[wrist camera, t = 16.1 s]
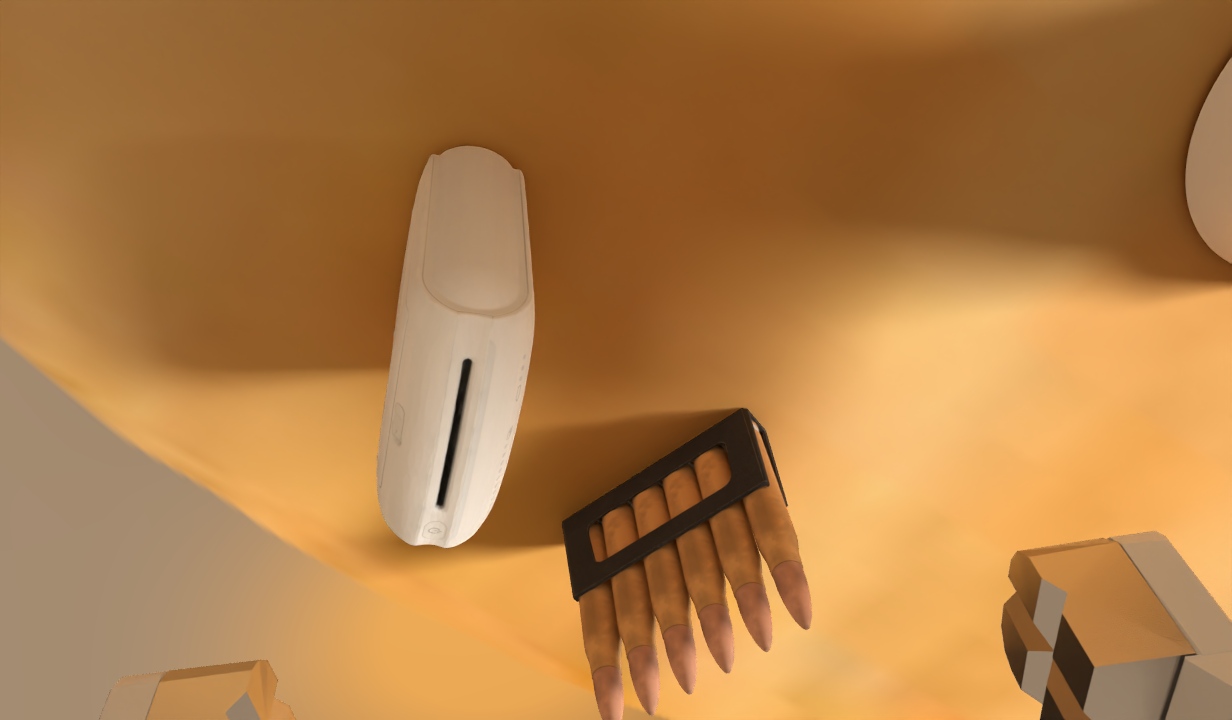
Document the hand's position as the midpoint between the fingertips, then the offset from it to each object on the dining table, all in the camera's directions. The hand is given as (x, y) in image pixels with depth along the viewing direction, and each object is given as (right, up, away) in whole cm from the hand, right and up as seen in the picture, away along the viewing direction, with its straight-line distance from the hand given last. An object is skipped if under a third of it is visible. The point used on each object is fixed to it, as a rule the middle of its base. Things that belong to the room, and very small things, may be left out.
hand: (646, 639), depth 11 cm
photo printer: (-7, +7, +30) cm, 31 cm away
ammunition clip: (+2, -2, +37) cm, 37 cm away
